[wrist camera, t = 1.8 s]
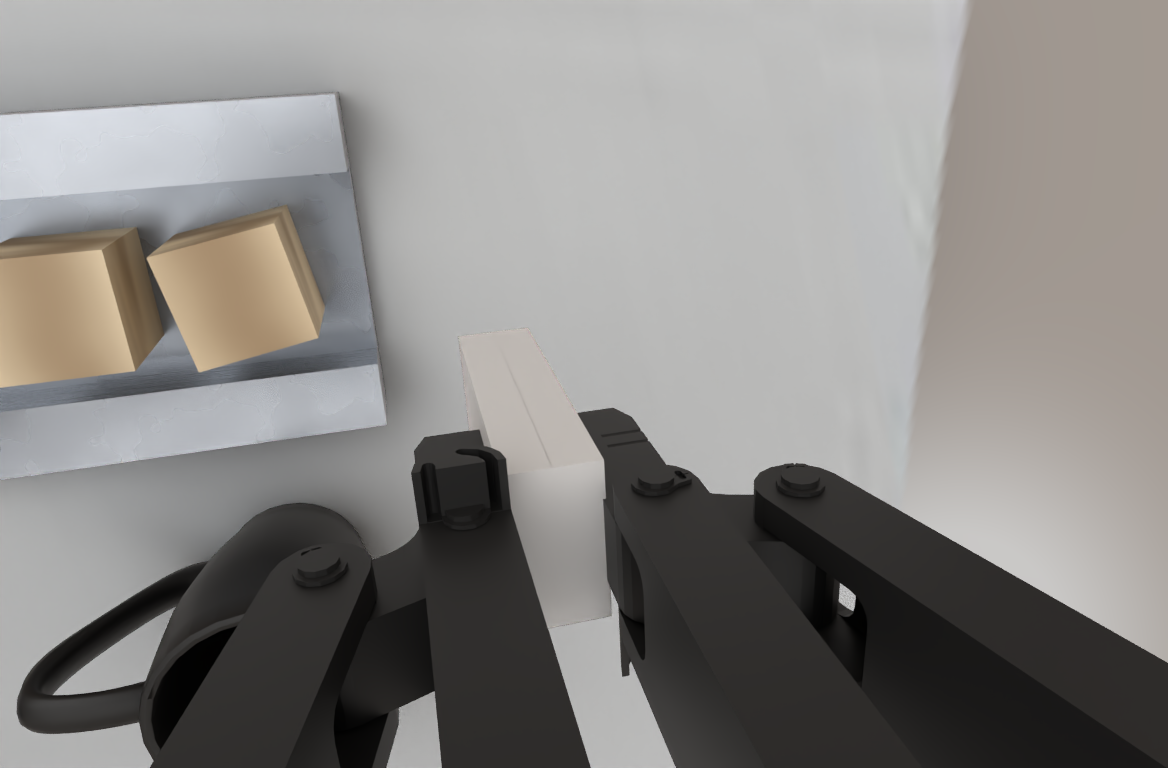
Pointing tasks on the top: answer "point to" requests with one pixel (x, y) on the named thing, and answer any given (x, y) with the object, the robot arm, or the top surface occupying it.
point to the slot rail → (160, 210)
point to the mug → (174, 630)
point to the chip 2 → (239, 287)
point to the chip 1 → (74, 306)
